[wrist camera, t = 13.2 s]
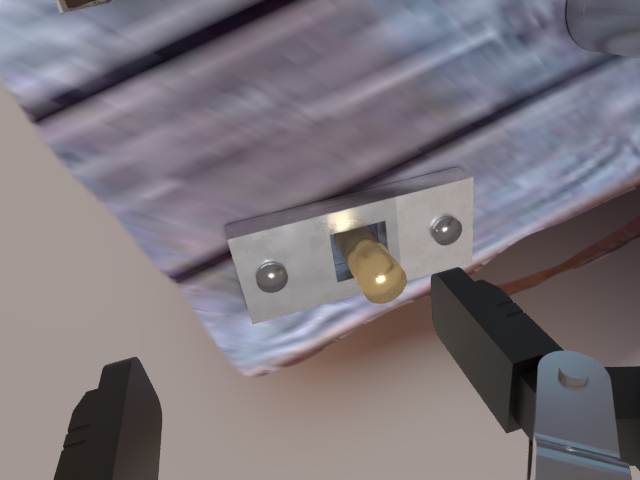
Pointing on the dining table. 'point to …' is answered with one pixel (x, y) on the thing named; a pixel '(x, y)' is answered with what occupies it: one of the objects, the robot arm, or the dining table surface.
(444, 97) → the dining table surface
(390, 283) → the brass pin
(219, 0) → the dining table surface
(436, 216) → the studded base plate
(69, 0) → the food container
